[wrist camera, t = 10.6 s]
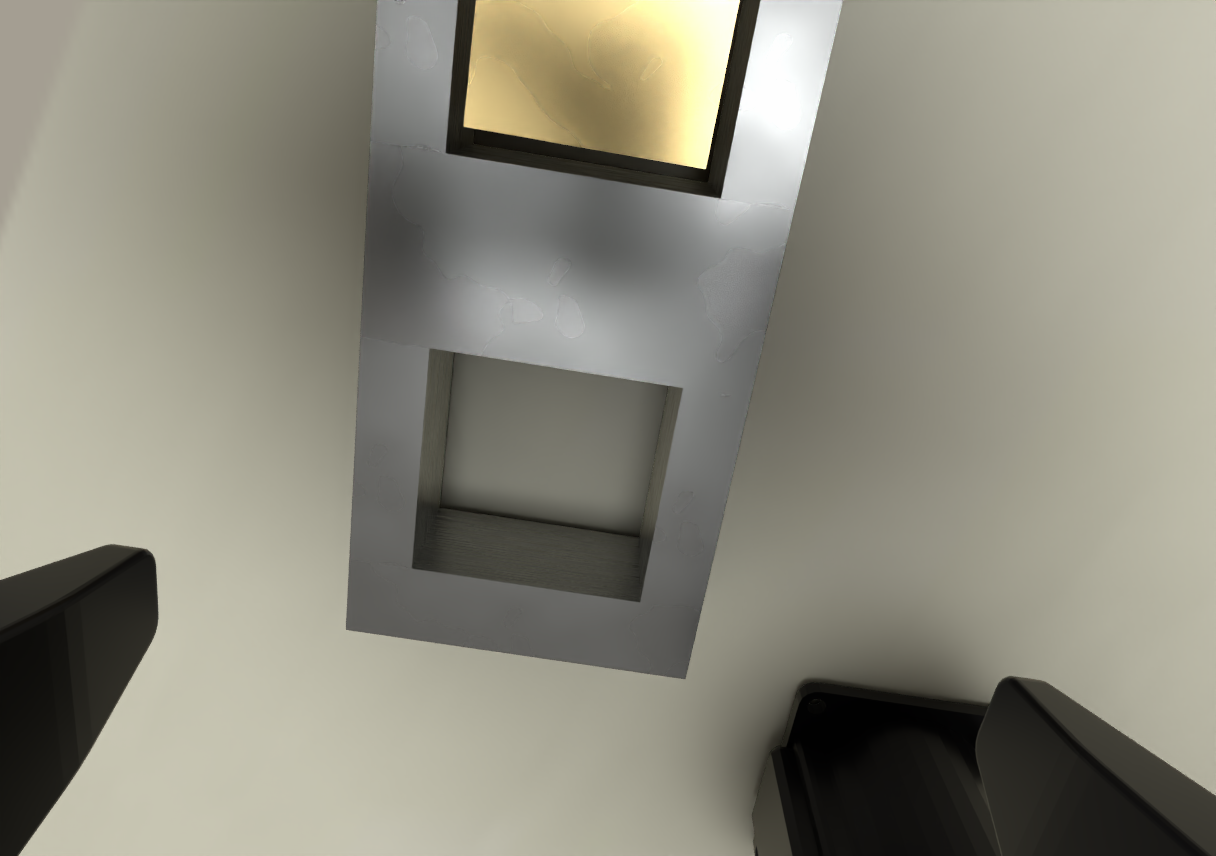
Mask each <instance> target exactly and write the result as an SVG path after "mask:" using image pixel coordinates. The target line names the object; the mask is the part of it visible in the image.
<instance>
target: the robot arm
mask: <svg viewBox="0 0 1216 856" xmlns="http://www.w3.org/2000/svg"><path fill="white" fill-rule="evenodd" d="M157 625H158V595H157V575H156V563H155V559H154V556H153V554H152V553H151V552H150V551H148V550H147V549H143V548H136V547H129V546H122V545H116V544H110V545H105V546H102V547H99V548H96V549H93V550H90V551H87V552H84V553H81V554H78V555H75V556H72V557H69V558H66V559H63V560H60V561H57V562H54V563H51V564H48V565H45V566H42V567H38V568H35V569H32V570H29V571H26V572H23V573H20V574H17V575H14V576H11V577H8V578H5V579H2V580H0V856H18V855H19V854H20V853H21V851H22V850H23V848H24V847H25V846H26V844H27V843H28V841H29V840H30V838H31V837H32V836H33V834H34V833H35V831H36V830H37V829H38V827H39V826H40V824H41V823H42V822H43V820H44V819H45V817H46V816H47V815H48V813H49V812H50V810H51V809H52V808H53V806H54V805H55V803H56V802H57V801H58V799H59V798H60V796H61V795H62V793H63V792H64V791H65V789H66V788H67V786H68V785H69V783H70V782H71V780H72V779H73V777H74V776H75V774H76V773H77V771H78V770H79V769H80V767H81V765H82V764H83V762H84V760H85V759H86V757H87V755H88V754H89V752H90V750H91V749H92V747H93V745H94V744H95V742H96V740H97V738H98V736H99V735H100V733H101V731H102V729H103V728H104V726H105V724H106V722H107V720H108V719H109V717H110V715H111V713H112V712H113V710H114V708H115V706H116V704H117V703H118V701H119V699H120V697H121V696H122V694H123V692H124V690H125V688H126V687H127V685H128V683H129V681H130V680H131V678H132V676H133V674H134V672H135V671H136V669H137V667H138V665H139V664H140V662H141V660H142V658H143V656H144V655H145V653H146V651H147V649H148V648H149V646H150V644H151V642H152V640H153V638H154V635H155V633H156V629H157ZM814 699H820V700H821V702H819V703H817V704H809V702H810V701H812V700H814ZM752 820H753V826H754V832H755V836H754V840H753V846H754V853H755V856H1216V796H1215V795H1214V794H1212V793H1211V792H1209V791H1208V790H1206V789H1205V788H1203V787H1202V786H1200V785H1199V784H1197V783H1196V782H1194V781H1193V780H1191V779H1190V778H1188V777H1187V776H1185V775H1184V774H1182V773H1181V772H1179V771H1178V770H1176V769H1175V768H1173V767H1172V766H1170V765H1169V764H1168V763H1166V762H1165V761H1163V760H1162V759H1160V758H1159V757H1157V756H1156V755H1154V754H1153V753H1151V752H1150V751H1148V750H1147V749H1145V748H1144V747H1142V746H1141V745H1139V744H1138V743H1136V742H1135V741H1133V740H1132V739H1130V738H1129V737H1127V736H1126V735H1124V734H1123V733H1121V732H1120V731H1118V730H1117V729H1115V728H1114V727H1112V726H1111V725H1109V724H1108V723H1107V722H1105V721H1104V720H1102V719H1101V718H1099V717H1098V716H1096V715H1095V714H1093V713H1092V712H1090V711H1089V710H1087V709H1086V708H1084V707H1083V706H1081V705H1080V704H1078V703H1077V702H1075V701H1074V700H1072V699H1071V698H1069V697H1068V696H1066V695H1065V694H1063V693H1062V692H1060V691H1059V690H1057V689H1056V688H1054V687H1053V686H1051V685H1050V684H1048V683H1047V682H1044V681H1041V680H1035V679H1028V678H1021V677H1014V676H1008V677H1006V678H1004V679H1002V680H1001V681H1000V682H999V683H998V685H997V687H996V689H995V692H994V694H993V697H992V699H991V702H990V704H989V707H982V706H975V705H968V704H961V703H954V702H947V701H941V700H934V699H927V698H920V697H913V696H906V695H900V694H893V693H886V692H879V691H872V690H865V689H859V688H852V687H845V686H838V685H831V684H824V683H809V684H806V685H804V686H803V687H801V688H800V689H799V690H798V692H797V694H796V697H795V700H794V704H793V707H792V710H791V714H790V717H789V721H788V724H787V727H786V731H785V734H784V738H783V741H782V744H781V746H777V747H776V748H774V749H773V750H772V751H771V752H770V754H769V757H768V761H767V764H766V768H765V771H764V775H763V778H762V781H761V785H760V788H759V792H758V795H757V799H756V802H755V806H754V809H753V813H752Z"/></svg>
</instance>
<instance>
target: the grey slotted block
mask: <svg viewBox="0 0 1216 856" xmlns="http://www.w3.org/2000/svg"><path fill="white" fill-rule="evenodd" d="M475 3H476V0H377V12H376V32H375V53H374V73H373V93H372V113H371V133H370V154H369V174H368V194H367V214H366V234H365V255H364V275H363V295H362V315H361V335H360V356H359V376H358V396H357V416H356V436H355V457H354V477H353V497H352V517H351V537H350V558H349V578H348V598H347V618H346V630H351V631H358V632H365V633H372V634H379V635H386V636H392V637H399V638H406V639H413V640H420V641H427V642H434V643H441V644H447V645H454V646H461V647H468V648H475V649H482V650H489V651H495V652H502V653H509V654H516V655H523V656H530V657H537V658H543V659H550V660H557V661H564V662H571V663H578V664H585V665H592V666H598V667H605V668H612V669H619V670H626V671H633V672H640V673H646V674H653V675H660V676H667V677H674V678H681V679H685V678H686V674H687V670H688V665H689V661H690V657H691V652H692V648H693V644H694V640H695V635H696V631H697V627H698V622H699V618H700V614H701V609H702V605H703V601H704V597H705V592H706V588H707V584H708V579H709V575H710V571H711V566H712V562H713V558H714V554H715V549H716V545H717V541H718V536H719V532H720V528H721V523H722V519H723V515H724V511H725V506H726V502H727V498H728V493H729V489H730V485H731V480H732V476H733V472H734V468H735V463H736V459H737V455H738V450H739V446H740V442H741V437H742V433H743V429H744V425H745V420H746V416H747V412H748V407H749V403H750V399H751V394H752V390H753V386H754V382H755V377H756V373H757V369H758V364H759V360H760V356H761V351H762V347H763V343H764V339H765V334H766V330H767V326H768V321H769V317H770V313H771V308H772V304H773V300H774V296H775V291H776V287H777V283H778V278H779V274H780V270H781V265H782V261H783V257H784V253H785V248H786V244H787V240H788V235H789V231H790V227H791V222H792V218H793V214H794V210H795V205H796V201H797V197H798V192H799V188H800V184H801V179H802V175H803V171H804V167H805V162H806V158H807V154H808V149H809V145H810V141H811V136H812V132H813V128H814V124H815V119H816V115H817V111H818V106H819V102H820V98H821V93H822V89H823V85H824V81H825V76H826V72H827V68H828V63H829V59H830V55H831V50H832V46H833V42H834V38H835V33H836V29H837V25H838V20H839V16H840V12H841V7H842V3H843V0H743V3H742V8H741V13H740V18H739V24H738V29H737V34H736V39H735V44H734V49H733V55H732V60H731V65H730V70H729V75H728V81H727V86H726V91H725V96H724V101H723V106H722V112H721V117H720V122H719V127H718V132H717V137H716V143H715V148H714V153H713V158H712V163H711V169H710V174H709V179H708V182H702V181H696V180H689V179H683V178H677V177H671V176H665V175H659V174H653V173H647V172H641V171H635V170H629V169H623V168H617V167H611V166H605V165H599V164H593V163H587V162H581V161H575V160H569V159H562V158H556V157H550V156H544V155H538V154H532V153H526V152H520V151H514V150H508V149H502V148H496V147H490V146H484V145H478V144H473V142H474V131H475V129H474V128H468V127H464V117H465V107H466V96H467V86H468V76H469V65H470V55H471V45H472V34H473V24H474V14H475ZM454 352H457V353H463V354H470V355H476V356H482V357H489V358H495V359H501V360H508V361H514V362H520V363H527V364H533V365H540V366H546V367H552V368H559V369H565V370H571V371H578V372H584V373H590V374H597V375H603V376H610V377H616V378H622V379H629V380H635V381H641V382H648V383H654V384H660V385H667V386H668V391H667V396H666V401H665V407H664V412H663V417H662V422H661V427H660V432H659V438H658V443H657V448H656V453H655V458H654V464H653V469H652V474H651V479H650V484H649V489H648V495H647V500H646V505H645V510H644V515H643V520H642V526H641V531H640V536H639V538H638V537H631V536H624V535H618V534H611V533H604V532H598V531H591V530H585V529H578V528H571V527H565V526H558V525H551V524H545V523H538V522H532V521H525V520H518V519H512V518H505V517H498V516H492V515H485V514H479V513H472V512H465V511H459V510H452V509H445V508H440V499H441V488H442V477H443V466H444V456H445V445H446V434H447V423H448V412H449V402H450V391H451V380H452V369H453V358H454Z"/></svg>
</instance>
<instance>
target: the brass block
mask: <svg viewBox="0 0 1216 856" xmlns="http://www.w3.org/2000/svg"><path fill="white" fill-rule="evenodd" d="M739 1H740V0H476V3H475V14H474V24H473V34H472V45H471V55H470V65H469V76H468V86H467V96H466V107H465V117H464V127H468V128H474V129H480V130H485V131H491V132H497V133H502V134H508V135H514V136H520V137H525V138H531V139H537V140H542V141H548V142H554V143H559V144H565V145H571V146H576V147H582V148H588V149H593V150H599V151H605V152H611V153H616V154H622V155H628V156H633V157H639V158H645V159H650V160H656V161H662V162H667V163H673V164H679V165H684V166H690V167H696V168H702V169H706V166H707V161H708V156H709V151H710V146H711V141H712V136H713V131H714V126H715V121H716V116H717V111H718V106H719V101H720V96H721V91H722V86H723V81H724V76H725V71H726V66H727V61H728V56H729V51H730V46H731V41H732V36H733V31H734V26H735V21H736V16H737V11H738V6H739Z"/></svg>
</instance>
